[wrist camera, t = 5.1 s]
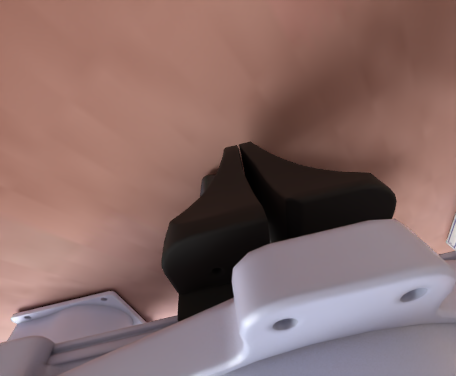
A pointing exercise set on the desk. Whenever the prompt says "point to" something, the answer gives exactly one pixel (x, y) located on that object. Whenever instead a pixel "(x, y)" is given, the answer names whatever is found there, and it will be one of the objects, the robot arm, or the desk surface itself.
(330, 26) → the desk surface
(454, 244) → the medicine box
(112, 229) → the desk surface
